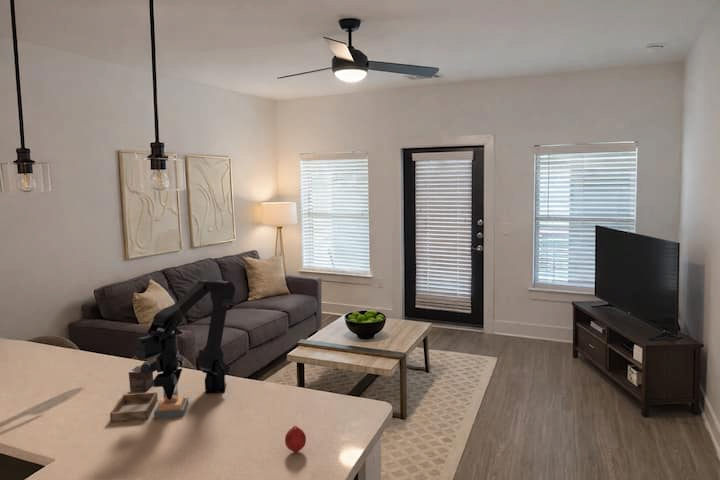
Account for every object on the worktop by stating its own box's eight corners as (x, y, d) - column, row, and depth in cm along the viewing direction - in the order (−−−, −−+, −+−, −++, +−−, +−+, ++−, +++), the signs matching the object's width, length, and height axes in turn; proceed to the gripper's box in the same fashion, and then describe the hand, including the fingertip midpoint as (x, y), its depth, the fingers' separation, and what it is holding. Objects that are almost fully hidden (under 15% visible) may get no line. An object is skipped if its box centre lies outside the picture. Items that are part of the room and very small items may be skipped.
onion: (286, 447, 145) (285, 420, 144) (306, 445, 145) (305, 419, 144) (284, 458, 139) (283, 430, 138) (306, 457, 140) (305, 429, 139)
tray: (157, 400, 176) (157, 392, 176) (147, 419, 162) (146, 410, 162) (124, 402, 174) (123, 394, 174) (110, 422, 161) (109, 413, 160)
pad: (184, 400, 172) (184, 395, 172) (180, 410, 165) (180, 404, 165) (163, 402, 171) (162, 396, 171) (158, 412, 164) (157, 406, 164)
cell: (179, 397, 170) (178, 375, 169) (176, 402, 166) (175, 380, 165) (165, 398, 170) (164, 376, 169) (162, 404, 165) (161, 381, 164)
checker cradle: (188, 403, 173) (188, 397, 173) (183, 415, 164) (183, 409, 164) (160, 405, 172) (160, 400, 172) (154, 418, 163) (154, 412, 163)
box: (154, 385, 189) (152, 366, 188) (145, 392, 183) (144, 372, 182) (138, 384, 189) (137, 365, 188) (129, 391, 183) (128, 372, 182)
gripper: (149, 342, 173) (152, 386, 175) (133, 362, 155) (137, 411, 157) (183, 340, 175) (186, 383, 177) (172, 360, 157) (175, 408, 159)
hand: (171, 396), depth 168 cm, fingers closed on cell, 4 cm apart
